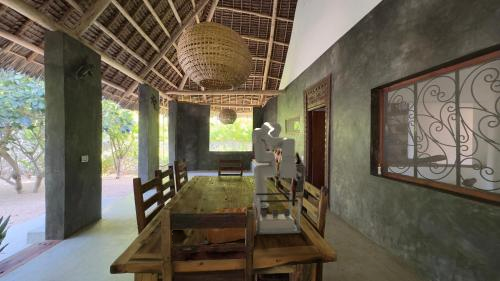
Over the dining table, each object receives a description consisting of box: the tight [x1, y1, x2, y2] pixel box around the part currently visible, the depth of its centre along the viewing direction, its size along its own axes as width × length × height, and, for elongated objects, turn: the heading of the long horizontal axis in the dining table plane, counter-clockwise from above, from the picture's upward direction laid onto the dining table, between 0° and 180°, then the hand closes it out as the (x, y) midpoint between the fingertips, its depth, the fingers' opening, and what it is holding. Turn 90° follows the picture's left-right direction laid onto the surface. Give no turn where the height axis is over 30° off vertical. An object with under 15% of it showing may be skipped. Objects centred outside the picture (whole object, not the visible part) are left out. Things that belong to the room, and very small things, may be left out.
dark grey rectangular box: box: [272, 209, 279, 217], centre depth 136 cm, size 2×3×4 cm, turn 97°
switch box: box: [260, 213, 295, 230], centre depth 136 cm, size 10×20×6 cm, turn 97°
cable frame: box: [252, 191, 301, 235], centre depth 135 cm, size 17×25×19 cm
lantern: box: [183, 210, 210, 245], centre depth 121 cm, size 8×17×30 cm
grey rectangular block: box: [260, 209, 268, 217], centre depth 135 cm, size 2×3×4 cm, turn 97°
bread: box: [205, 206, 257, 245], centre depth 123 cm, size 14×26×16 cm, turn 115°
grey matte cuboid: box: [283, 208, 289, 216], centre depth 137 cm, size 2×3×4 cm, turn 97°
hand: (287, 187), depth 136 cm, fingers open, 9 cm apart
